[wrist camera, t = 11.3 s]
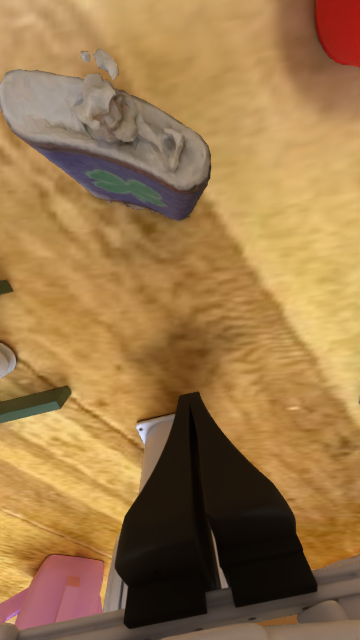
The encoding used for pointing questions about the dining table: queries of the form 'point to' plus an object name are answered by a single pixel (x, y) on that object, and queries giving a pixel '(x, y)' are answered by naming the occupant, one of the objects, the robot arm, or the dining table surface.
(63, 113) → the flask
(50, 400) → the bay
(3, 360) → the rook chess piece
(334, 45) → the ceramic cup
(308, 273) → the dining table surface
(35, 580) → the teakettle
